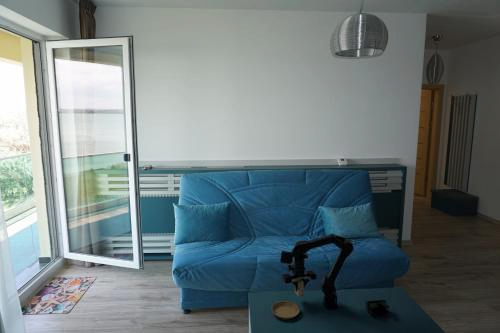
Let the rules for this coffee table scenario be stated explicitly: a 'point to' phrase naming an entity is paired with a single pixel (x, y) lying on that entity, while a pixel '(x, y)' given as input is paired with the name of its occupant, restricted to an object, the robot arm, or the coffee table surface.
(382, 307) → the end cap
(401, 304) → the coffee table surface
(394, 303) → the coffee table surface
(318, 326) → the coffee table surface
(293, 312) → the plant saucer
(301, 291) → the taupe streaky block
